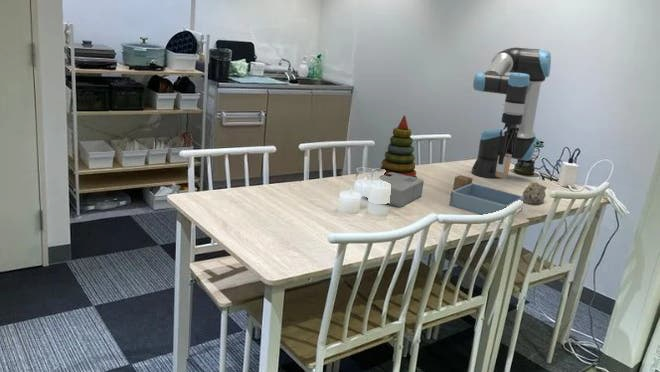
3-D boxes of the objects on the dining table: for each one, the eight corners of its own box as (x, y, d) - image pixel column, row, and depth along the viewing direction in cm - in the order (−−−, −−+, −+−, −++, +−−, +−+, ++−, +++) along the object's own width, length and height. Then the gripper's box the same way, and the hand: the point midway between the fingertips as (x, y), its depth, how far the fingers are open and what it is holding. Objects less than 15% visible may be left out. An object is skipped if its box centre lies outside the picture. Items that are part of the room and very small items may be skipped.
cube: (458, 187, 252) (460, 175, 250) (470, 190, 249) (472, 178, 247) (452, 189, 248) (454, 177, 246) (465, 193, 244) (467, 180, 242)
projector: (422, 196, 235) (425, 179, 232) (400, 208, 217) (402, 190, 215) (388, 187, 243) (390, 171, 241) (364, 199, 225) (366, 181, 223)
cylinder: (497, 173, 223) (501, 154, 220) (509, 176, 220) (513, 157, 218) (492, 175, 219) (496, 156, 217) (504, 178, 216) (508, 159, 214)
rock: (531, 204, 232) (537, 181, 232) (518, 201, 237) (525, 179, 237) (547, 209, 239) (554, 187, 239) (535, 206, 244) (541, 185, 244)
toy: (374, 170, 268) (380, 110, 259) (413, 173, 269) (421, 113, 261) (378, 182, 249) (386, 117, 241) (421, 185, 251) (430, 121, 242)
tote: (469, 195, 241) (471, 183, 239) (521, 210, 227) (524, 196, 225) (449, 204, 226) (451, 191, 224) (504, 220, 212) (506, 206, 210)
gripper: (512, 110, 221) (502, 165, 228) (494, 113, 207) (484, 172, 214) (530, 113, 217) (519, 169, 223) (513, 116, 203) (502, 176, 210)
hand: (502, 170), depth 219 cm, fingers closed on cylinder, 5 cm apart
